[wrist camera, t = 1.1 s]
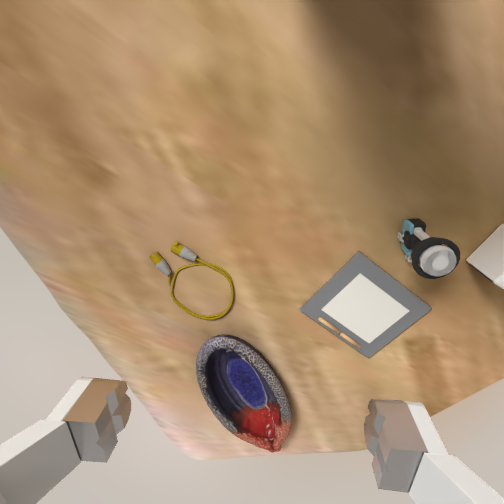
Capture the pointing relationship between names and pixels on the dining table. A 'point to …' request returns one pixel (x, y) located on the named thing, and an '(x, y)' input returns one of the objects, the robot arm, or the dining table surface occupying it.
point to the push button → (427, 250)
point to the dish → (243, 392)
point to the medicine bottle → (490, 257)
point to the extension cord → (189, 255)
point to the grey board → (364, 306)
